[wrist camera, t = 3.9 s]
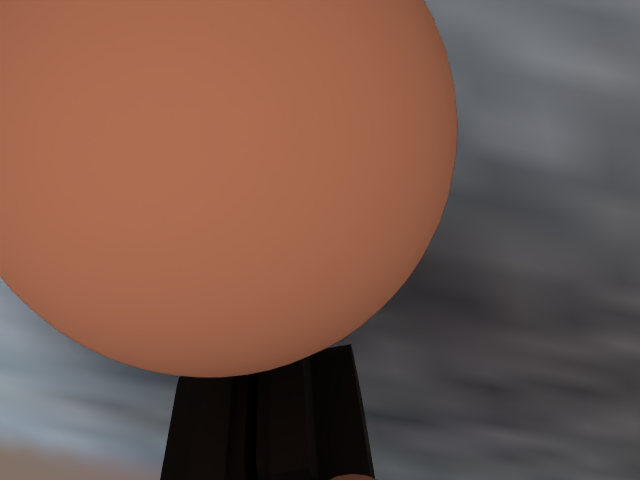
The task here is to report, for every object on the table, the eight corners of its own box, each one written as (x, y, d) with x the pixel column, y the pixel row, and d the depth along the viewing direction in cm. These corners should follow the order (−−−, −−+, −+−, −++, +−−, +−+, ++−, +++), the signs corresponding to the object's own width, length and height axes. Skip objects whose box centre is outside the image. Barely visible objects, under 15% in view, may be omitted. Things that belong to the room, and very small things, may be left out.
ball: (416, 192, 12) (521, 446, 7) (117, 240, 12) (3, 522, 7) (392, -176, 8) (564, -215, 3) (-20, -104, 9) (-430, -41, 4)
